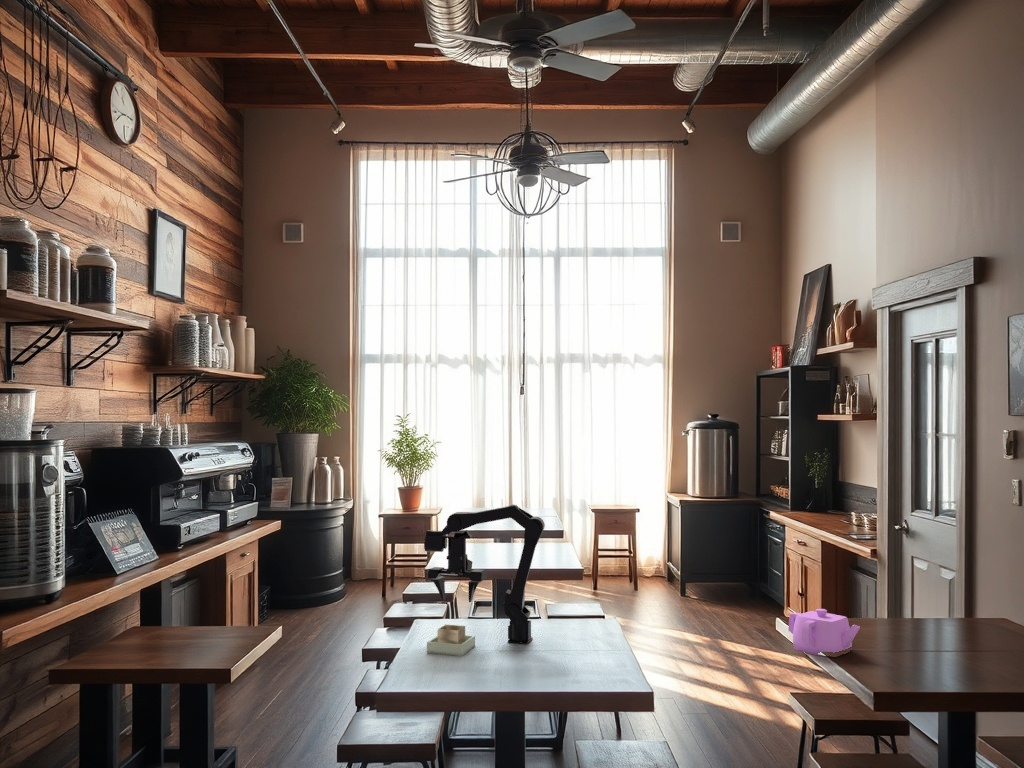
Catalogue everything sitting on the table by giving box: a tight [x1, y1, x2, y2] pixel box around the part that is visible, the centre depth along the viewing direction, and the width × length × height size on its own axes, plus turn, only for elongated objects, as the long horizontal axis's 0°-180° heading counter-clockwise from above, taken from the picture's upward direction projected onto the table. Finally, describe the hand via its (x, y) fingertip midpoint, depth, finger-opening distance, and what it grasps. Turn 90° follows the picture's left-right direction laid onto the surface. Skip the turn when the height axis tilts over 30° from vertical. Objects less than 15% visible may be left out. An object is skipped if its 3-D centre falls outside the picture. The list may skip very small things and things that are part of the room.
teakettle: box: [788, 608, 861, 656], centre depth 247 cm, size 17×17×12 cm
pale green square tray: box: [426, 634, 476, 657], centre depth 249 cm, size 11×11×3 cm
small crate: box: [437, 624, 466, 644], centre depth 249 cm, size 6×6×6 cm
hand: (456, 601), depth 261 cm, fingers open, 9 cm apart
